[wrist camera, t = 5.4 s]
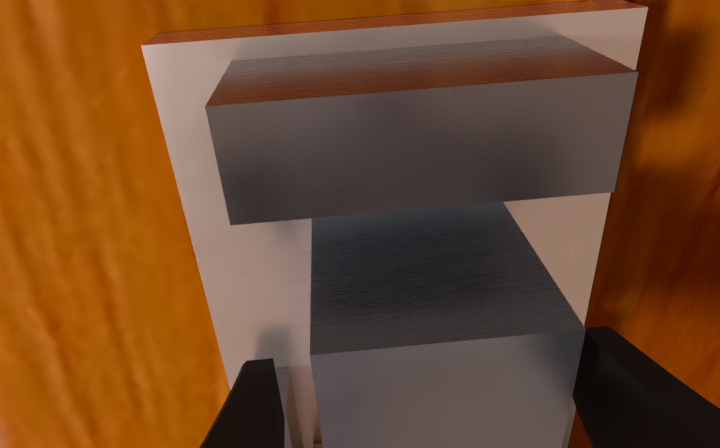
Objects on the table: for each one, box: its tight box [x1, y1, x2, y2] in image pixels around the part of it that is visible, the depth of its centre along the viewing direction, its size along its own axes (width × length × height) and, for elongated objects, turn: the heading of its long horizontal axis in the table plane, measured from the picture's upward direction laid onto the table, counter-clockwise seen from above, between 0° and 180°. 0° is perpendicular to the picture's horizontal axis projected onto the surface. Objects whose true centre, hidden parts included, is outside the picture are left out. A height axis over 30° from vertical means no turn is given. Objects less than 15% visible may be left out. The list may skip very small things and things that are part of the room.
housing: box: [310, 202, 586, 448], centre depth 14 cm, size 6×5×6 cm
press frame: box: [141, 0, 648, 448], centre depth 17 cm, size 20×12×5 cm, turn 3°
